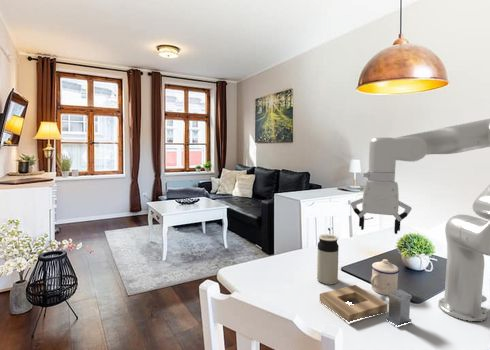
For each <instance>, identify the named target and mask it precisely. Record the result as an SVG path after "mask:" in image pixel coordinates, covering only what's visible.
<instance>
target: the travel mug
mask: <svg viewBox="0 0 490 350" xmlns="http://www.w3.org/2000/svg"><path fill="white" fill-rule="evenodd" d="M318 239H319V241H318V243H317V261H316V262H317V263H316V267H317V268H316V269H317V270H316V275H317V276H316V280H317V279H318V280H319V281H320V283H321V282H322V284H324V283H325V284H324V285H335V284H336V283H338V281H339V279H338V278H339V243H338V240H339V237H338V236H337V235H334V234H330V233H329V234H328V233H327V234H326V233H325V234H319V235H318ZM318 280H317V281H318ZM319 281H318V282H319Z"/></svg>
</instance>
